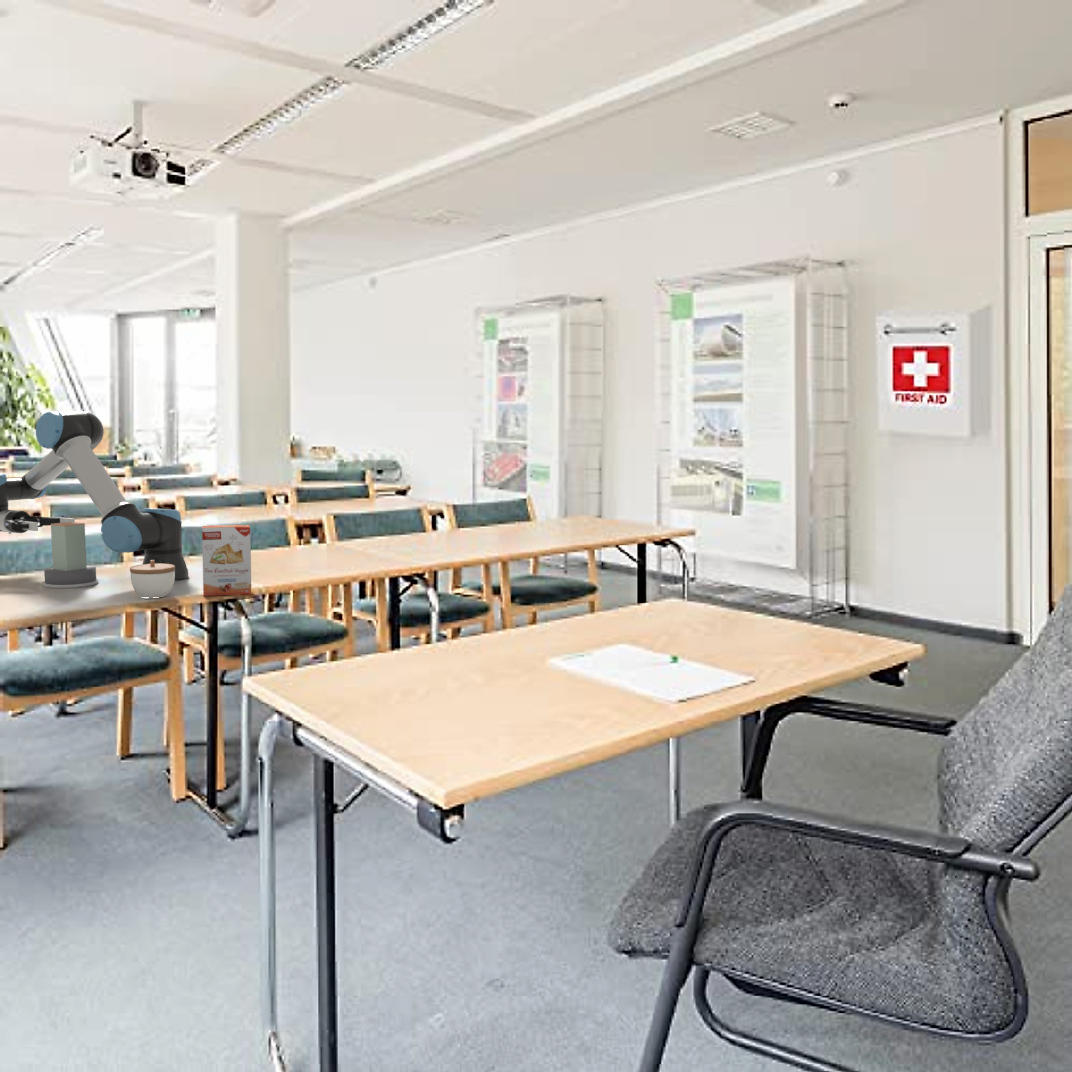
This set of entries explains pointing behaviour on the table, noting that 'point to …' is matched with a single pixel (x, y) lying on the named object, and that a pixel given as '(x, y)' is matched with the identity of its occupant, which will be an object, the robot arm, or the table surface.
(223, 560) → the cracker box
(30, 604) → the table surface
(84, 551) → the carton
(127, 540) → the robot arm
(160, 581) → the lidded bowl
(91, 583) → the podium
